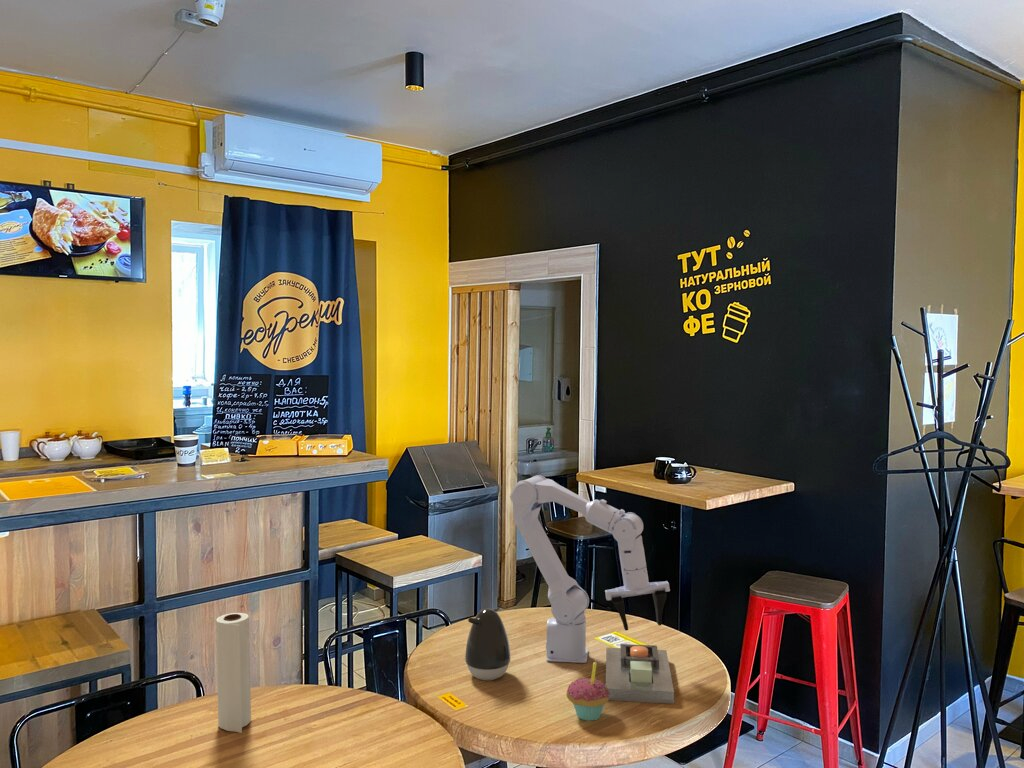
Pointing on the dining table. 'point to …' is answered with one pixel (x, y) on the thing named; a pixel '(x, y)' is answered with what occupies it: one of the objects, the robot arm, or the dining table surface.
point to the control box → (638, 692)
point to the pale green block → (640, 672)
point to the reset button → (638, 651)
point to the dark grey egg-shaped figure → (487, 646)
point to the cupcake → (588, 696)
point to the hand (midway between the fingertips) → (642, 626)
